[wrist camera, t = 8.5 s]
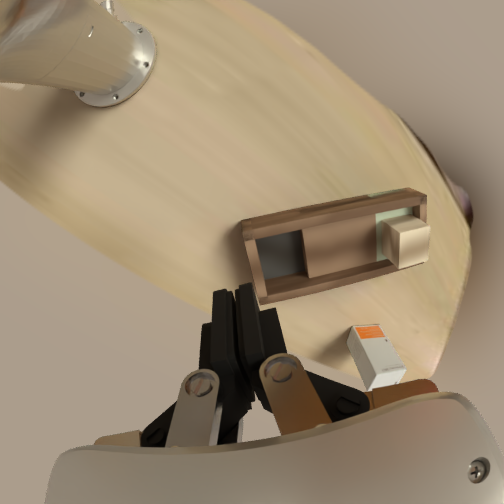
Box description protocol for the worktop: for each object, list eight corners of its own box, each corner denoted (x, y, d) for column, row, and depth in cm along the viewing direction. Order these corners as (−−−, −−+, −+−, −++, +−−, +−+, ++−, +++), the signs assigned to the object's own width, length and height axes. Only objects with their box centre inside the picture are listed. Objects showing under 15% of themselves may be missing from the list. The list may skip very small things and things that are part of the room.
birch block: (381, 219, 33) (400, 232, 29) (410, 213, 33) (430, 225, 29) (381, 252, 35) (398, 269, 31) (409, 245, 35) (427, 260, 31)
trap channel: (241, 220, 35) (241, 232, 31) (409, 187, 34) (426, 195, 30) (257, 287, 39) (260, 305, 35) (408, 250, 38) (423, 262, 34)
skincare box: (379, 322, 44) (408, 368, 33) (372, 340, 46) (397, 386, 35) (351, 325, 44) (376, 375, 33) (344, 342, 45) (366, 392, 35)
